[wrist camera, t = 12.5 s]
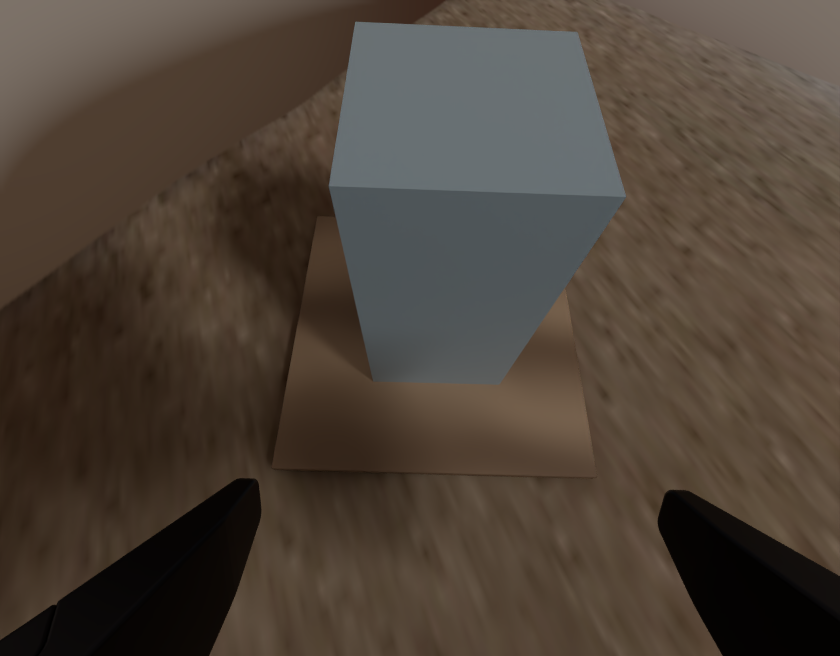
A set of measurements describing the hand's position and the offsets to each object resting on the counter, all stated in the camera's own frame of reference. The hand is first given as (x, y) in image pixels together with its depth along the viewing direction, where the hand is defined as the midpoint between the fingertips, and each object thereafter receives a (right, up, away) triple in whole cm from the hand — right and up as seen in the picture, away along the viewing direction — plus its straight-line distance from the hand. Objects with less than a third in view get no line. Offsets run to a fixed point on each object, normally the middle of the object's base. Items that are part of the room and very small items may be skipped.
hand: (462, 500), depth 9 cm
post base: (0, +4, +12) cm, 12 cm away
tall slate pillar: (0, +4, +11) cm, 12 cm away
